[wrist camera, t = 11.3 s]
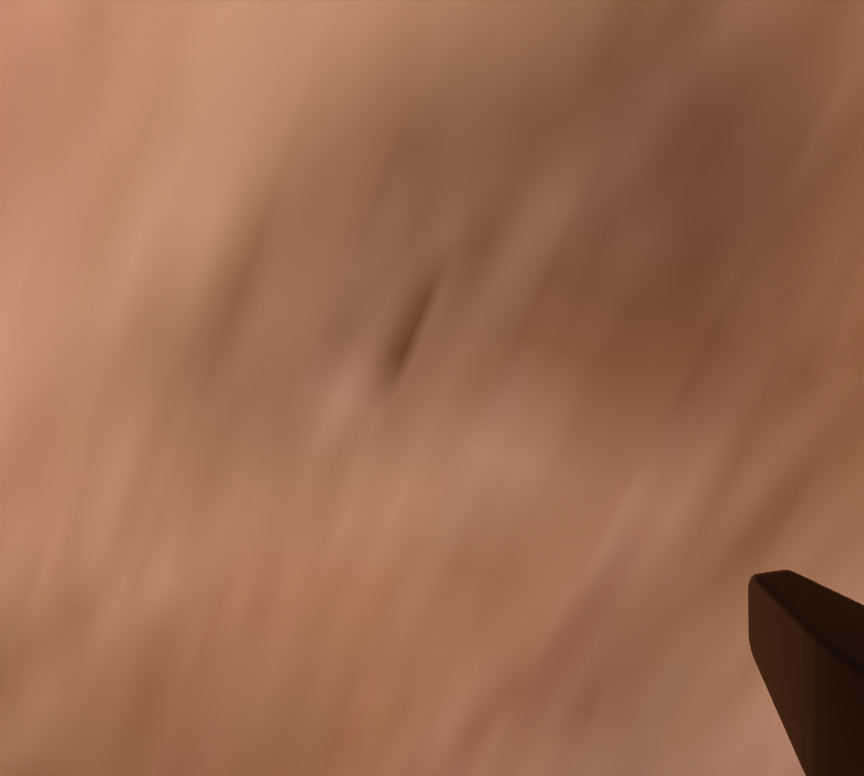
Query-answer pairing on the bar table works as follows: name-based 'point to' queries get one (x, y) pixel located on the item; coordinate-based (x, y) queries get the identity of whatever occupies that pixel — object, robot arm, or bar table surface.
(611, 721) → the bar table surface
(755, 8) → the bar table surface
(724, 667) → the bar table surface
